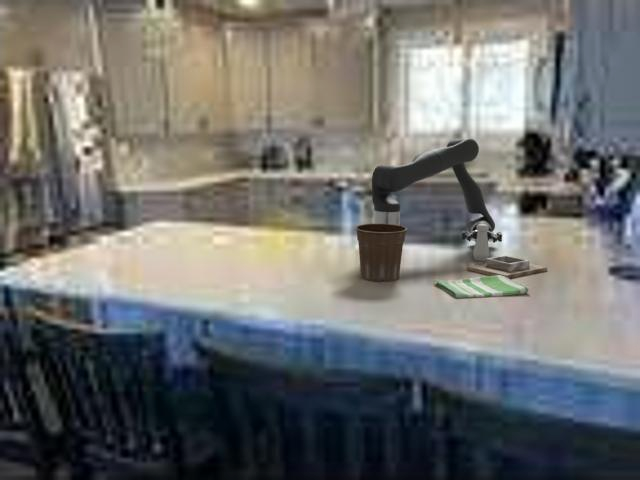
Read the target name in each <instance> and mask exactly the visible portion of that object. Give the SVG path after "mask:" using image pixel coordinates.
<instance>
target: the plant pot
mask: <svg viewBox="0 0 640 480" xmlns="http://www.w3.org/2000/svg"><path fill="white" fill-rule="evenodd" d="M354 229H355V231H356V239H357V241H358V254H359V268H360V269H359V272H360V277H361V279H364V280H366V281H369V282H379V283H380V282H381V281H384V282H394V281H397V280H399V279H400V272H401V263H402V255H403V249H404V247H403V246H404V242H405V239H406V233H407V231H408V227H406V226H404V225H393V224H374V223H364V224H358V225H356V226H355V227H354Z"/></svg>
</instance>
